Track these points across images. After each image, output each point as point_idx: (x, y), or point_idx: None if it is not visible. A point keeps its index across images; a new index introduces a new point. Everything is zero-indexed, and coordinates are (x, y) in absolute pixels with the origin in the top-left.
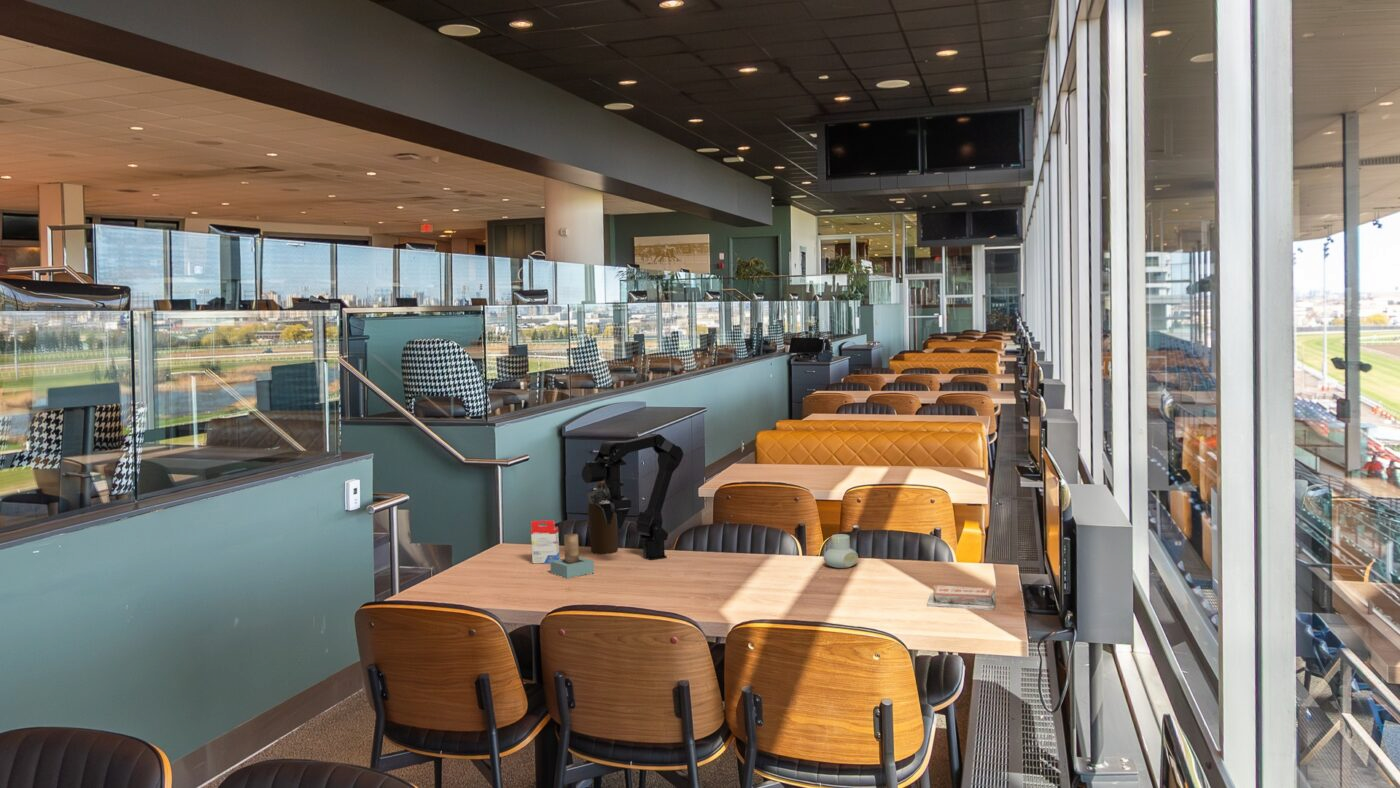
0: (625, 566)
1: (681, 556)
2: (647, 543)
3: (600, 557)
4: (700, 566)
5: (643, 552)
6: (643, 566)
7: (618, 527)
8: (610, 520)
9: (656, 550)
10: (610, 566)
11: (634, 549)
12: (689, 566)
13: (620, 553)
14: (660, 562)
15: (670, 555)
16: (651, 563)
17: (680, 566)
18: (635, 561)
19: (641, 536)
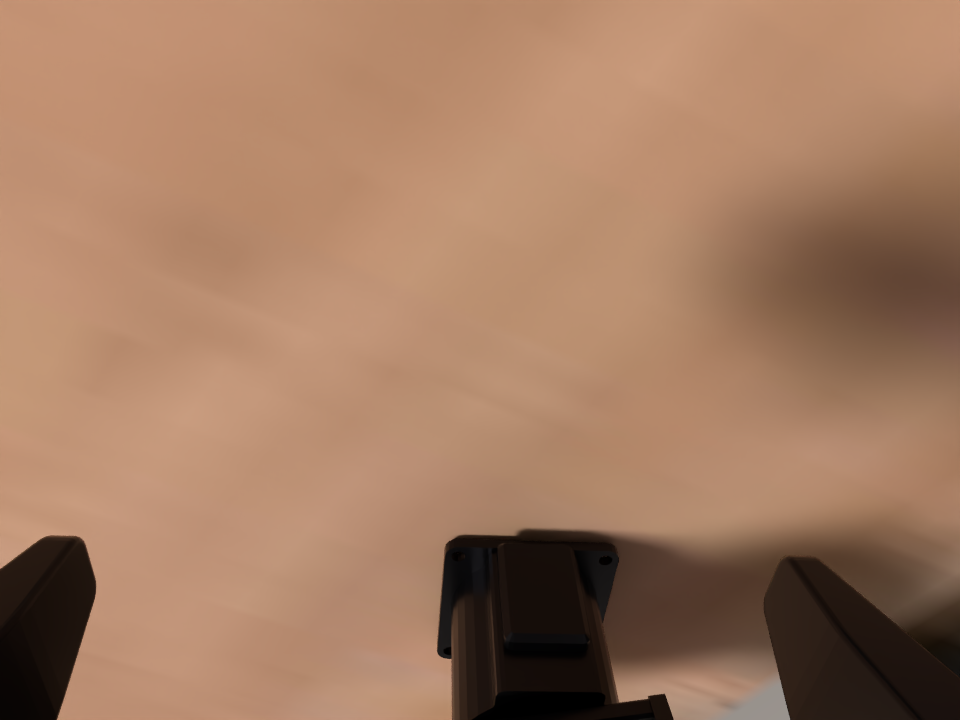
0: (337, 275)
1: (422, 717)
2: (503, 667)
3: (937, 248)
4: None
5: (561, 570)
6: (236, 408)
7: (21, 569)
8: (797, 691)
9: (453, 651)
10: (440, 138)
11: (914, 593)
12: None
13: (898, 464)
14: (315, 563)
15: None
16: (321, 502)
17: None
18: (491, 436)
19: (655, 715)
